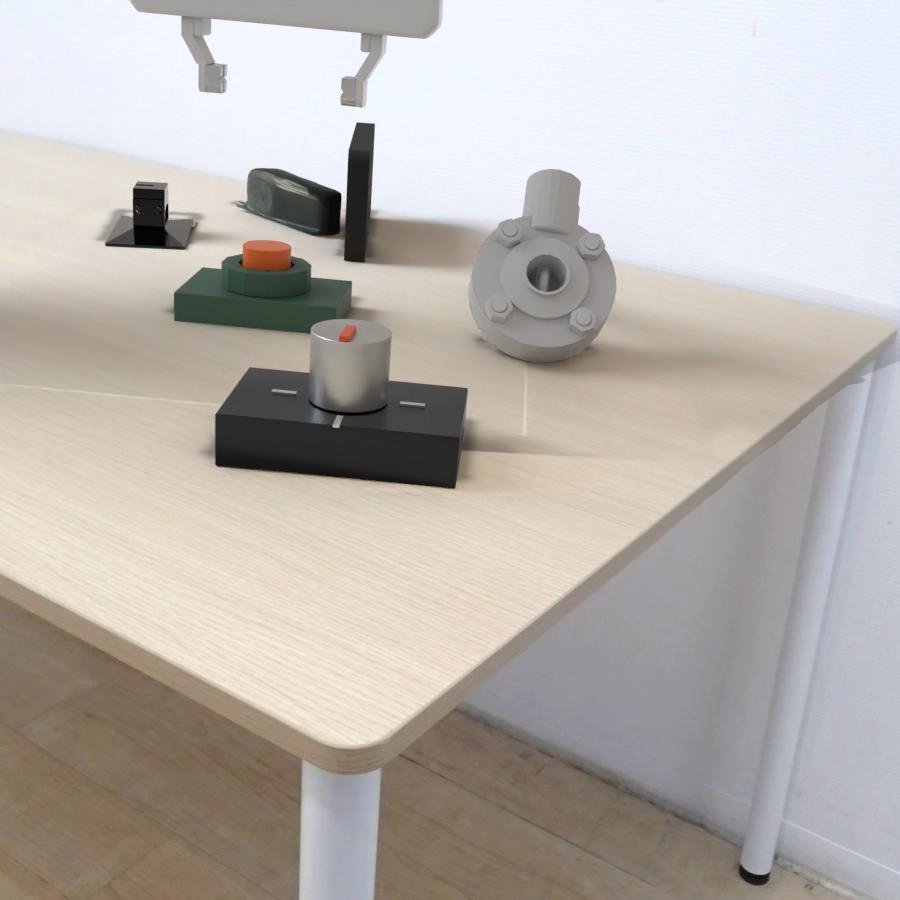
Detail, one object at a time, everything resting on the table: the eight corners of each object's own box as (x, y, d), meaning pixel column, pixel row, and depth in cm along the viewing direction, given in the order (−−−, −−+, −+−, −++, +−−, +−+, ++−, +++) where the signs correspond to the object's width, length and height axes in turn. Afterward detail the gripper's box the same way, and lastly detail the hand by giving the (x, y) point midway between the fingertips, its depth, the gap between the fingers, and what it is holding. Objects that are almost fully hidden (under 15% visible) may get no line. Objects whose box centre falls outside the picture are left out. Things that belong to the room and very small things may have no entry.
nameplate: (364, 264, 107) (369, 152, 103) (343, 262, 107) (348, 151, 103) (370, 217, 126) (375, 122, 123) (352, 216, 126) (356, 120, 122)
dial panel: (213, 468, 63) (213, 413, 62) (249, 412, 71) (250, 362, 70) (455, 491, 62) (459, 436, 61) (464, 432, 70) (468, 383, 69)
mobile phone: (347, 188, 115) (255, 159, 124) (324, 190, 113) (231, 161, 122) (344, 238, 117) (253, 206, 126) (321, 241, 115) (230, 208, 124)
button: (237, 271, 87) (237, 248, 86) (248, 260, 90) (248, 238, 90) (285, 276, 87) (286, 252, 86) (294, 264, 90) (295, 242, 90)
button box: (173, 321, 86) (173, 268, 85) (202, 293, 94) (202, 244, 92) (335, 336, 86) (337, 283, 85) (351, 307, 93) (353, 258, 92)
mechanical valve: (464, 328, 80) (491, 140, 85) (445, 415, 97) (469, 254, 102) (612, 352, 80) (631, 163, 85) (567, 434, 97) (585, 273, 102)
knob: (317, 382, 68) (320, 310, 66) (393, 390, 67) (397, 318, 66) (300, 408, 64) (302, 332, 62) (380, 417, 63) (385, 340, 62)
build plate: (121, 219, 117) (120, 172, 115) (196, 223, 118) (196, 176, 116) (104, 246, 106) (102, 194, 104) (187, 250, 107) (187, 199, 105)
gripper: (460, -115, 75) (443, 109, 80) (146, -142, 76) (149, 80, 81) (452, -123, 69) (433, 119, 74) (112, -153, 70) (117, 88, 75)
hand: (282, 99), depth 78 cm, fingers open, 8 cm apart
